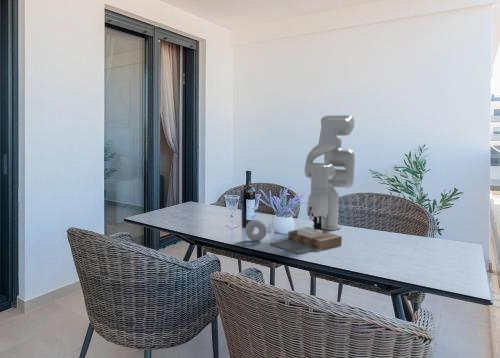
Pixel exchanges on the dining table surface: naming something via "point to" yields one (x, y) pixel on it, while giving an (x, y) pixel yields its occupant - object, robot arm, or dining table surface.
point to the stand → (316, 240)
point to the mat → (293, 246)
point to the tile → (310, 232)
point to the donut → (260, 226)
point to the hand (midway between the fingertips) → (317, 230)
